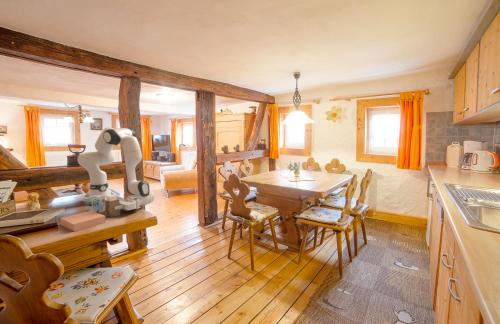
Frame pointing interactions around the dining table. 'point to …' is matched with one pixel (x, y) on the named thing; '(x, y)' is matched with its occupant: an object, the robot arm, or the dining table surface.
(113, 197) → the cargo block
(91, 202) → the light bulb box
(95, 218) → the dock
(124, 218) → the dining table surface
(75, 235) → the dining table surface
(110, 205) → the walnut crate
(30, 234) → the dining table surface
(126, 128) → the robot arm
